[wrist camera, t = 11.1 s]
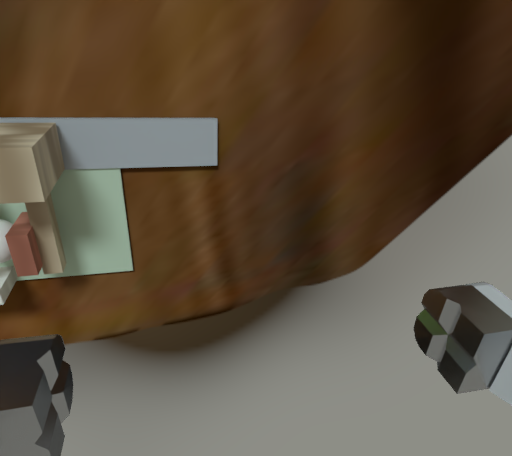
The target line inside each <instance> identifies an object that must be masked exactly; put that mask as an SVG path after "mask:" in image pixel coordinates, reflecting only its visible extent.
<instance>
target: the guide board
mask: <svg viewBox="0 0 512 456" xmlns="http://www.w3.org/2000/svg"><path fill="white" fill-rule="evenodd" d="M0 123H56V127H57V132H58V137H59V142H60V147H61V152H62V157H63V162H64V167H65V169H64V170H71V169H108V168H144V167H181V166H217V118H0Z"/></svg>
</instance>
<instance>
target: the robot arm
mask: <svg viewBox="0 0 512 456" xmlns="http://www.w3.org/2000/svg"><path fill="white" fill-rule="evenodd" d="M422 305H423V307H424V310H423V311H422V312H421V313H420V314H419V315H418V316H417V317H416V321H415V325H414V332H415V339H416V341H417V343H418V345H419V347H420V348H421V350H422V351H423V352H424V354H425V355H426V356H428V357H430V358H432V359H433V360H435V361H437V365H438V371H439V372H440V373H441V375H442V376H443V377H444V378H445V380H446V381H447V382H448V383H449V384H450V386H451V387H452V388H453V390H454V391H455V392H456V393H457V394H458V393H464V392H471V391H477V390H483V389H488V388H490V390H489V391H491V392H492V393H493V394H495V395H496V396H498V397H499V398H501V399H503V400H504V401H506V402H507V403H509V404H510V405H512V300H511V299H510V298H508V297H507V296H506V295H504V294H503V293H502V292H501V291H499V290H498V289H496V288H495V287H494V286H493V285H491V284H488V283H485V282H479V283H472V284H466V285H459V286H452V287H444V288H437V289H429V290H428V291H427V292H426V293H425V294H424V297H423V300H422ZM64 352H65V346H64V342H63V339H62V336H60V335H58V334H55V335H45V336H35V337H25V338H15V339H5V340H0V456H61V451H62V447H63V442H64V437H65V435H64V432H63V429H62V426H61V423H62V422H63V421H64V420H65V419H66V418H67V417H68V416H69V414H70V409H71V404H72V396H73V378H72V372H71V368H70V365H69V364H68V363H66V362H64V361H63V356H64Z"/></svg>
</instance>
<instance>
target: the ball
mask: <svg viewBox="0 0 512 456" xmlns="http://www.w3.org/2000/svg"><path fill="white" fill-rule="evenodd" d="M12 225H13V224H12V223H10V222H9V221H6V220H3V219H0V263H4V262H7V261H9V260H11V259H12V257H11V254H10V251H9V247H8V244H7V241H6V238H5V236H6V234H7V233H8V231H9V230H10V228H11V227H12Z"/></svg>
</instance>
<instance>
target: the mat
mask: <svg viewBox="0 0 512 456" xmlns="http://www.w3.org/2000/svg"><path fill="white" fill-rule="evenodd" d="M50 193H51V197H52V202H53V206H54V211H55V215H56V219H57V224H58V228H59V232H60V237H61V241H62V245H63V250H64V254H65V259H66V266H65V269H64V272H63V273H55V274H44V273H43V269H42V268H41V270H40V272H39V274H38V275H32V276H20V277H18V276H17V278H18V279H17V280H16V281H18V280H30V279H42V278H53V277H65V276H76V275H88V274H99V273H111V272H122V271H133V263H132V255H131V247H130V240H129V232H128V224H127V216H126V208H125V200H124V193H123V185H122V177H121V169H120V168H108V169H71V170H64V171H63V173H62V174H61V176H60V177H59V179H58V181H57V182H56V184H55V186H54V187H53V189H52V191H51V192H50ZM21 212H27V210H26V206H25V203H6V204H0V219H3V220H6V221H9V222H10V223H12V224H14V223H15V221H16V220H17V218H18V217H19V215H20V214H21ZM8 266H14V263H13V260H12V259H11V260H9V261H7V262H4V263H0V267H8ZM14 269H15V267H14ZM15 272H16V270H15ZM16 275H17V273H16Z"/></svg>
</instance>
